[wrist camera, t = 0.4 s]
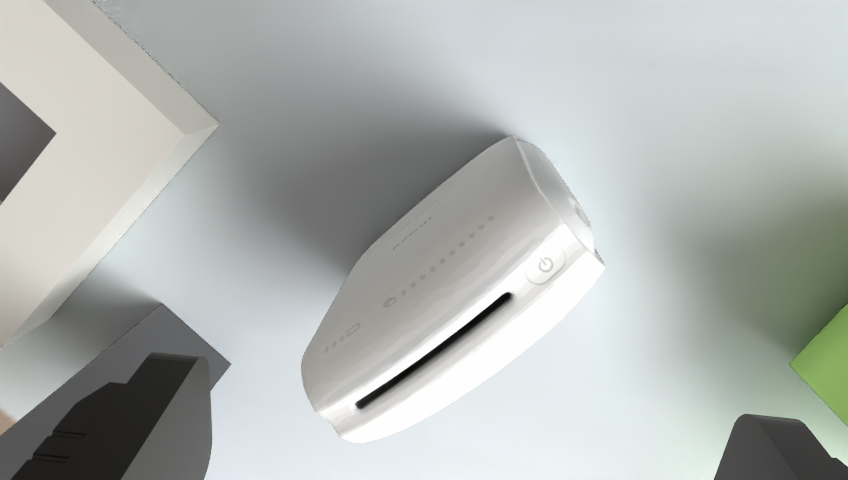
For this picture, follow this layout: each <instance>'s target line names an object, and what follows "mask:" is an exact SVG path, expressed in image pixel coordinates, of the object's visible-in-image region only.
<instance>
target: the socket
mask: <svg viewBox="0 0 848 480" xmlns="http://www.w3.org/2000/svg"><path fill="white" fill-rule="evenodd" d="M219 125H220V123H219V122H217V121H216V120H215V119H214V118H213V117H212V116H211V115H210V114H209V113H208V112H207V111H206V110H205V109H204V108H203V107H202V106H201V105H200V104H199V103H198V102H197V101H196V100H195V99H194V98H192V97H191V96H190V95H189V94H188V93H187V92H186V91H185V90H184V89H183V88H182V87H181V86H180V85H179V84H178V83H177V82H176V81H175V80H174V79H173V78H172V77H171V76H170V75H168V74H167V73H166V72H165V71H164V70H163V69H162V68H161V67H160V66H159V65H158V64H157V63H156V62H155V61H154V60H153V59H152V58H151V57H150V56H149V55H148V54H147V53H146V52H145V51H143V50H142V49H141V48H140V47H139V46H138V45H137V44H136V43H135V42H134V41H133V40H132V39H131V38H130V37H129V36H128V35H127V34H126V33H125V32H124V31H123V30H122V29H121V28H119V27H118V26H117V25H116V24H115V23H114V22H113V21H112V20H111V19H110V18H109V17H108V16H107V15H106V14H105V13H104V12H103V11H102V10H101V9H100V8H99V7H98V6H97V5H95V4H94V3H93V2H92V1H91V0H0V350H2V349H3V348H5V347H6V346H8V345H10V344H11V343H13V342H14V341H16V340H17V339H19V338H21V337H22V336H24V335H25V334H27V333H28V332H30V331H32V330H33V329H35V328H36V327H38V326H39V325H41V324H42V323H44V322H46V321H47V320H49V319H50V318H51V316H52V315H53V314H54V313H55V312H56V311H57V310H58V308H59V307H60V306H61V305H62V304H63V303H64V302H65V300H66V299H67V298H68V297H69V296H70V295H71V294H72V292H73V291H74V290H75V289H76V288H77V287H78V286H79V284H80V283H81V282H82V281H83V280H84V279H85V278H86V276H87V275H88V274H89V273H90V272H91V271H92V270H93V269H94V267H95V266H96V265H97V264H98V263H99V262H100V261H101V259H102V258H103V257H104V256H105V255H106V254H107V253H108V251H109V250H110V249H111V248H112V247H113V246H114V245H115V243H116V242H117V241H118V240H119V239H120V238H121V237H122V235H123V234H124V233H125V232H126V231H127V230H128V229H129V227H130V226H131V225H132V224H133V223H134V222H135V221H136V219H137V218H138V217H139V216H140V215H141V214H142V213H143V211H144V210H145V209H146V208H147V207H148V206H149V205H150V203H151V202H152V201H153V200H154V199H155V198H156V197H157V195H158V194H159V193H160V192H161V191H162V190H163V189H164V187H165V186H166V185H167V184H168V183H169V182H170V181H171V179H172V178H173V177H174V176H175V175H176V174H177V173H178V171H179V170H180V169H181V168H182V167H183V166H184V165H185V163H186V162H187V161H188V160H189V159H190V158H191V157H192V155H193V154H194V153H195V152H196V151H197V150H198V149H199V147H200V146H201V145H202V144H203V143H204V142H205V141H206V139H207V138H208V137H209V136H210V135H211V134H212V133H213V131H214V130H215V129H216V128H217V127H218V126H219Z"/></svg>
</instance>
